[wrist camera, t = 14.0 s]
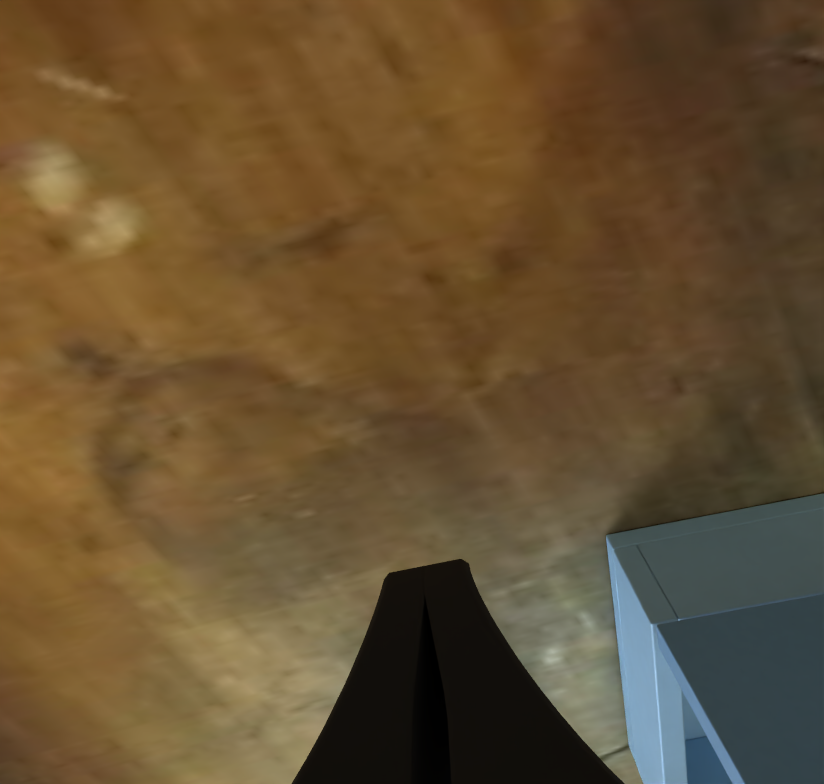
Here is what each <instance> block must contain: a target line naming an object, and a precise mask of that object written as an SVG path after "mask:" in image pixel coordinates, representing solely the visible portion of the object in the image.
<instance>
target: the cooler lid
mask: <svg viewBox="0 0 824 784" xmlns="http://www.w3.org/2000/svg"><path fill="white" fill-rule="evenodd" d="M656 628H657V637H658V646H659V649H660V650H661V652H662V654H663V656H664V658H665V660H666V662H667V663H668V665H669V667H670V669H671V671H672V673H673V674H674V676H675V678H676V680H677V682H678V684H679V686H680V687H681V689H682V691H683V693H684V695H685V697H686V699H687V700H688V702H689V704H690V706H691V708H692V710H693V711H694V713H695V715H696V717H697V719H698V721H699V723H700V724H701V726H702V728H703V730H704V732H705V734H706V735H707V737H708V739H709V741H710V743H711V745H712V747H713V748H714V750H715V752H716V754H717V756H718V758H719V760H720V761H721V763H722V765H723V767H724V769H725V771H726V772H727V774H728V776H729V778H730V780H731V782H732V784H824V594H821V595H815V596H810V597H804V598H799V599H793V600H788V601H783V602H777V603H772V604H766V605H761V606H755V607H750V608H745V609H739V610H734V611H728V612H723V613H718V614H712V615H707V616H701V617H696V618H690V619H685V620H680V621H674V622H669V623H663V624H658V625H657V626H656Z"/></svg>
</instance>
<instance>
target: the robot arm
mask: <svg viewBox="0 0 824 784" xmlns="http://www.w3.org/2000/svg"><path fill="white" fill-rule="evenodd" d="M292 784H624V783H623V782H622V781H621V780H620V779H619V778H618V777H617V776H616V775H615V774H614V773H613V772H612V771H611V770H610V769H609V768H608V767H607V766H606V765H605V764H604V763H603V761H602V760H601V759H600V758H599V757H598V756H597V755H596V754H595V753H594V752H593V751H592V750H591V748H590V747H589V746H588V745H587V744H586V743H585V742H584V741H583V740H582V739H581V738H580V736H579V735H578V734H577V733H576V732H575V731H574V729H573V728H572V727H571V726H570V725H569V724H568V723H567V721H566V720H565V719H564V718H563V717H562V716H561V714H560V713H559V712H558V711H557V709H556V708H555V707H554V706H553V705H552V703H551V702H550V701H549V699H548V698H547V697H546V696H545V694H544V693H543V692H542V691H541V689H540V688H539V687H538V685H537V684H536V682H535V681H534V680H533V678H532V677H531V676H530V674H529V673H528V672H527V670H526V669H525V668H524V666H523V665H522V663H521V662H520V660H519V659H518V658H517V656H516V655H515V653H514V652H513V650H512V649H511V647H510V645H509V644H508V642H507V641H506V639H505V638H504V636H503V635H502V633H501V631H500V630H499V628H498V627H497V625H496V623H495V622H494V620H493V618H492V617H491V615H490V613H489V611H488V609H487V607H486V605H485V604H484V602H483V600H482V598H481V596H480V594H479V592H478V589H477V587H476V585H475V582H474V580H473V577H472V574H471V571H470V567H469V563H467V562H465V561H464V560H462V559H458V560H453V561H447V562H442V563H437V564H432V565H427V566H422V567H417V568H412V569H407V570H402V571H397V572H391V573H389V574H388V575H387V576H386V578H385V579H384V582H383V585H382V589H381V593H380V596H379V599H378V602H377V605H376V608H375V611H374V614H373V617H372V620H371V622H370V625H369V628H368V630H367V633H366V636H365V638H364V641H363V643H362V645H361V648H360V650H359V653H358V655H357V657H356V660H355V662H354V665H353V667H352V669H351V672H350V674H349V676H348V678H347V681H346V683H345V685H344V687H343V689H342V691H341V693H340V695H339V697H338V699H337V701H336V703H335V705H334V708H333V710H332V712H331V714H330V716H329V718H328V720H327V722H326V724H325V726H324V728H323V730H322V732H321V733H320V735H319V737H318V739H317V741H316V743H315V744H314V746H313V748H312V750H311V752H310V753H309V755H308V757H307V759H306V760H305V762H304V764H303V766H302V767H301V769H300V771H299V772H298V774H297V776H296V777H295V779H294V781H293V782H292Z"/></svg>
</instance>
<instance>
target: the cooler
mask: <svg viewBox="0 0 824 784" xmlns="http://www.w3.org/2000/svg"><path fill="white" fill-rule="evenodd" d="M606 541H607V550H608V559H609V569H610V578H611V587H612V596H613V605H614V614H615V624H616V633H617V642H618V651H619V660H620V669H621V679H622V688H623V697H624V706H625V715H626V724H627V734H628V743H629V747H630V750H631V752H632V755H633V758H634V760H635V763H636V765H637V768H638V771H639V773H640V776H641V779H642V781H643V784H732V782H731V780H730V778H729V776H728V774H727V772H726V771H725V769H724V767H723V765H722V763H721V761H720V760H719V758H718V756H717V754H716V752H715V750H714V748H713V747H712V745H711V743H710V741H709V739H708V737H707V735H706V734H705V732H704V730H703V728H702V726H701V724H700V723H699V721H698V719H697V717H696V715H695V713H694V711H693V710H692V708H691V706H690V704H689V702H688V700H687V699H686V697H685V695H684V693H683V691H682V689H681V687H680V686H679V684H678V682H677V680H676V678H675V676H674V674H673V673H672V671H671V669H670V667H669V665H668V663H667V662H666V660H665V658H664V656H663V654H662V652H661V650H660V649H659V646H658V637H657V628H656V626H657V625H658V624H663V623H669V622H674V621H680V620H685V619H690V618H696V617H701V616H707V615H712V614H718V613H723V612H728V611H734V610H739V609H745V608H750V607H755V606H761V605H766V604H772V603H777V602H783V601H788V600H793V599H799V598H804V597H810V596H815V595H821V594H824V493H823V494H818V495H812V496H807V497H802V498H797V499H791V500H786V501H781V502H776V503H771V504H765V505H760V506H755V507H750V508H745V509H739V510H734V511H729V512H724V513H718V514H713V515H708V516H703V517H698V518H692V519H687V520H682V521H677V522H672V523H666V524H661V525H656V526H651V527H645V528H640V529H635V530H630V531H625V532H619V533H614V534H609V535H606Z"/></svg>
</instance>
